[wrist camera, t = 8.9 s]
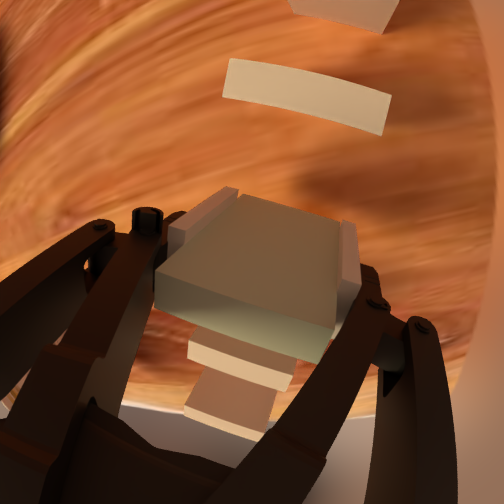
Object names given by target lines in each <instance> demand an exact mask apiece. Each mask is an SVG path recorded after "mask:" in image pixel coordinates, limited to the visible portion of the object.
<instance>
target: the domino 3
mask: <svg viewBox="0 0 504 504" xmlns="http://www.w3.org/2000/svg"><path fill="white" fill-rule="evenodd" d="M339 229H340V222H339V221H335V220H332V219H329V218H326V217H322V216H319V215H316V214H313V213H309V212H306V211H302V210H299V209H296V208H292V207H289V206H285V205H282V204H278V203H275V202H271V201H268V200H264V199H261V198H257V197H253V196H250V195H246V194H242V195H241V196H240V197H239V198H238V199H237V200H236V201H235V202H234V203H232V204H231V205H230V206H229V207H228V208H227V209H225V210H224V211H223V212H222V213H221V214H219V215H218V216H217V217H216V218H215V219H214V220H212V221H211V222H210V223H209V224H208V225H207V226H206V227H204V228H203V229H202V230H201V231H200V232H199V233H198V234H196V235H195V236H194V237H193V238H192V239H191V240H190V241H188V242H187V243H186V244H185V245H183V246H182V247H181V248H179V249H178V250H177V251H176V252H175V253H174V254H173V255H172V256H171V257H169V258H168V259H167V260H166V261H165V262H164V263H163V264H162V265H161V266H159V267H158V268H157V269H156V270H155V292H154V308H156V309H159V310H161V311H164V312H166V313H169V314H171V315H174V316H176V317H179V318H181V319H184V320H186V321H189V322H192V323H194V324H197V325H199V326H202V327H205V328H208V329H210V330H213V331H216V332H218V333H221V334H224V335H227V336H230V337H233V338H235V339H238V340H241V341H244V342H247V343H250V344H253V345H256V346H259V347H262V348H265V349H268V350H272V351H275V352H278V353H281V354H284V355H288V356H291V357H294V358H298V359H301V360H304V361H308V362H311V363H315V364H318V363H319V361H320V359H321V357H322V355H323V353H324V351H325V349H326V347H327V345H328V343H329V341H330V339H331V337H332V335H333V333H334V331H335V321H336V307H337V293H336V291H337V274H338V251H339Z"/></svg>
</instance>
